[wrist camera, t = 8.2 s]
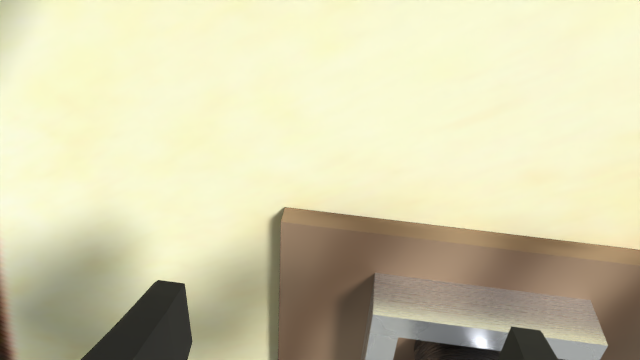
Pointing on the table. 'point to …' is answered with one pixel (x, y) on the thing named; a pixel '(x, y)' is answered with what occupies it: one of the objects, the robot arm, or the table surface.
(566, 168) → the table surface
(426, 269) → the walnut base plate
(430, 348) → the cylinder
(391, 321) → the square metal frame
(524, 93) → the table surface
